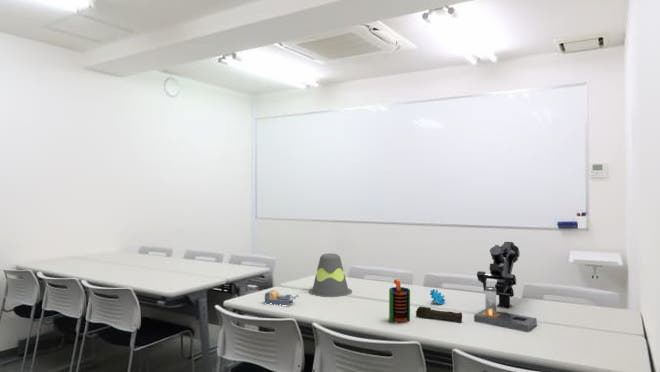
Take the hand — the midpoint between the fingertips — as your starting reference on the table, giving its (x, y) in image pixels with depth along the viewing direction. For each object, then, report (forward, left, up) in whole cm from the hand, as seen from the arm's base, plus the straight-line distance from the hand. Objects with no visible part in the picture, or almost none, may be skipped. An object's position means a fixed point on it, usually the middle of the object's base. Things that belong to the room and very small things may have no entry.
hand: (493, 291), depth 218 cm
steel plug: (+7, +1, -10) cm, 12 cm away
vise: (+52, -103, -13) cm, 116 cm away
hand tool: (+22, -20, -13) cm, 32 cm away
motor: (+36, -34, -13) cm, 51 cm away
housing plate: (+6, +8, -13) cm, 16 cm away
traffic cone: (+12, -100, -13) cm, 102 cm away
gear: (-6, -34, -13) cm, 37 cm away
